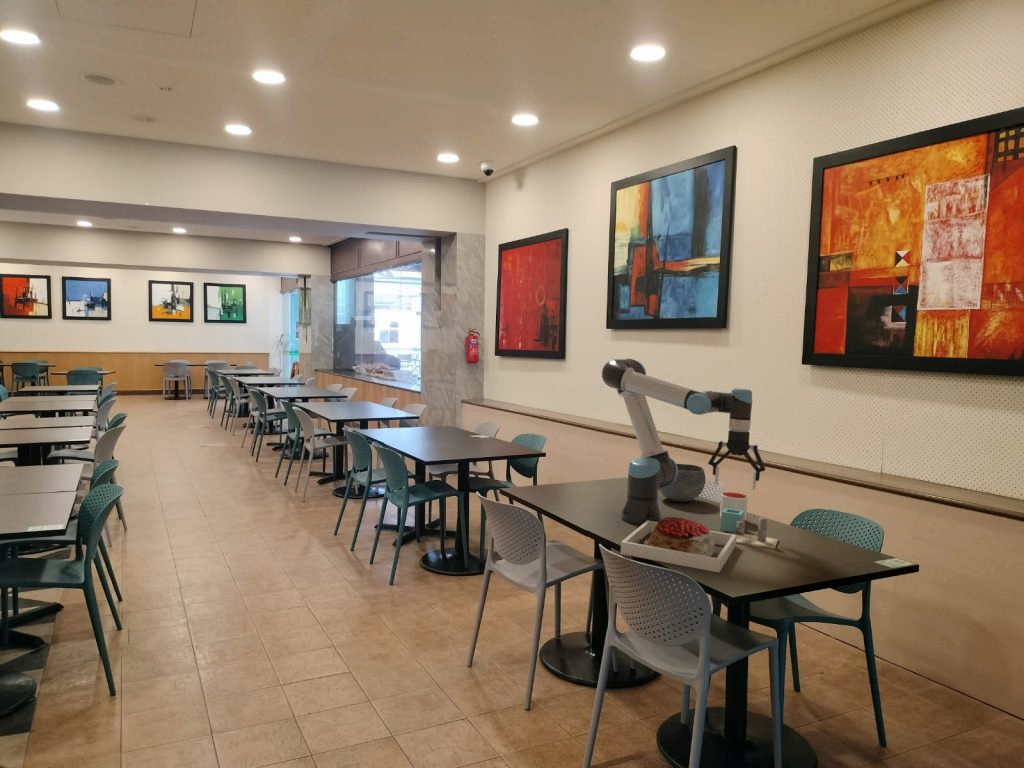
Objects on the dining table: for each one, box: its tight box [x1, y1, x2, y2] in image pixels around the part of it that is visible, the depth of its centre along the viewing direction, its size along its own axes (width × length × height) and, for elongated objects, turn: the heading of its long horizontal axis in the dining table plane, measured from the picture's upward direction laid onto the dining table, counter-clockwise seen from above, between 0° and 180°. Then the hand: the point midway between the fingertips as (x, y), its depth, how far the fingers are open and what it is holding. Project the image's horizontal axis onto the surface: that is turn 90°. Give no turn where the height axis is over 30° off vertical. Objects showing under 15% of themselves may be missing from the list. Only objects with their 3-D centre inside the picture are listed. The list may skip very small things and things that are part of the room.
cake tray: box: [620, 520, 737, 573], centre depth 237 cm, size 31×31×4 cm
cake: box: [638, 516, 716, 557], centre depth 236 cm, size 23×24×10 cm
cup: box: [719, 491, 749, 522], centre depth 279 cm, size 10×10×10 cm
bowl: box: [658, 463, 706, 503], centre depth 308 cm, size 21×21×15 cm
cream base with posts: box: [730, 517, 779, 550], centre depth 251 cm, size 16×12×9 cm
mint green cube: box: [720, 508, 744, 533], centre depth 265 cm, size 7×7×7 cm
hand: (735, 486), depth 264 cm, fingers open, 13 cm apart
